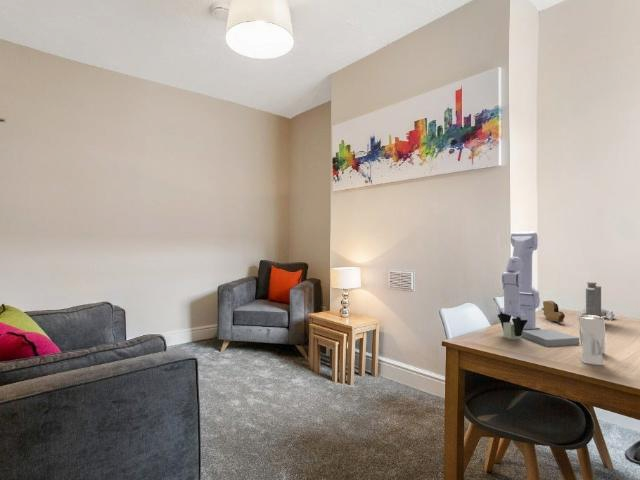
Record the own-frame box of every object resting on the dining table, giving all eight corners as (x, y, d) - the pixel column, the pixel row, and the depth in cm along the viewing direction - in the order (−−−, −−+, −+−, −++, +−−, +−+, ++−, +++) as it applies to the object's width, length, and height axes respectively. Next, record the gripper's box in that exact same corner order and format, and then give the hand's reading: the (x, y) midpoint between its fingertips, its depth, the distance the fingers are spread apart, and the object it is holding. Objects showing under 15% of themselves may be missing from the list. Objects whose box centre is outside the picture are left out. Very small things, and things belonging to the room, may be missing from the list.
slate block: (521, 337, 152) (521, 330, 152) (550, 335, 154) (550, 328, 154) (547, 347, 138) (547, 339, 138) (579, 345, 140) (579, 337, 140)
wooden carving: (569, 325, 170) (568, 303, 170) (559, 325, 170) (559, 304, 170) (547, 317, 186) (547, 297, 186) (538, 317, 186) (538, 298, 186)
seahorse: (599, 322, 171) (620, 311, 180) (573, 310, 180) (594, 300, 189) (596, 331, 173) (616, 320, 182) (570, 319, 182) (591, 309, 191)
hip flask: (593, 328, 163) (593, 284, 163) (582, 326, 167) (582, 283, 166) (601, 322, 174) (601, 281, 174) (591, 321, 177) (591, 280, 177)
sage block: (503, 336, 152) (503, 322, 152) (513, 336, 153) (513, 321, 153) (510, 339, 148) (510, 325, 148) (520, 339, 148) (520, 324, 148)
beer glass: (573, 359, 124) (573, 315, 124) (593, 358, 124) (592, 314, 124) (590, 366, 117) (590, 319, 117) (610, 365, 117) (610, 319, 117)
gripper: (491, 298, 157) (492, 329, 157) (515, 304, 142) (515, 338, 142) (506, 297, 158) (506, 328, 158) (531, 303, 143) (531, 337, 144)
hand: (512, 333), depth 150 cm, fingers open, 7 cm apart
